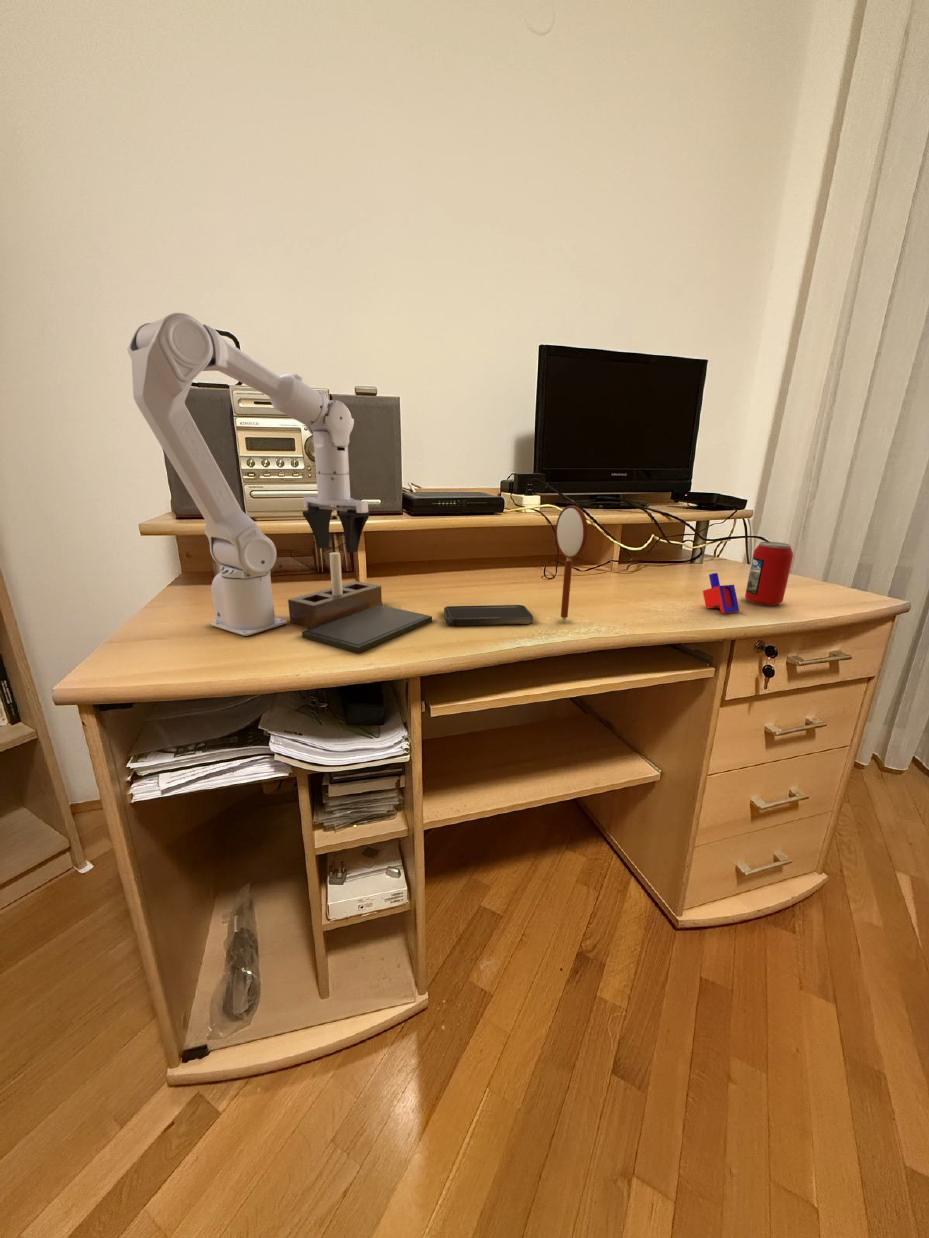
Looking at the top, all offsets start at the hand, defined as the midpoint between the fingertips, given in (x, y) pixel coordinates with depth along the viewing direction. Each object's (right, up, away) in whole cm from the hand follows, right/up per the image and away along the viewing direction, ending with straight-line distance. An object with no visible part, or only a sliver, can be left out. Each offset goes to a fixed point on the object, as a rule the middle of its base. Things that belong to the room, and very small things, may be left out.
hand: (337, 549), depth 91 cm
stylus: (+1, -12, -3) cm, 12 cm away
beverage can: (+85, -10, +9) cm, 86 cm away
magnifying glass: (+41, -14, -5) cm, 44 cm away
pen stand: (+1, -12, -3) cm, 12 cm away
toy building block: (+73, -11, +4) cm, 74 cm away
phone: (+28, -13, -4) cm, 31 cm away
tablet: (+8, -15, -11) cm, 20 cm away
